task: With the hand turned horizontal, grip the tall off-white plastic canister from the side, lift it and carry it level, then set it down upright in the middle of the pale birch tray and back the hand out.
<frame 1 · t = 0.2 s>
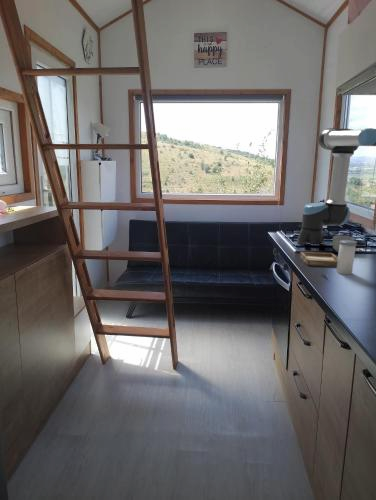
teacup: (341, 251, 212), on the counter
tray: (320, 261, 189), on the counter
canister: (344, 272, 172), on the counter
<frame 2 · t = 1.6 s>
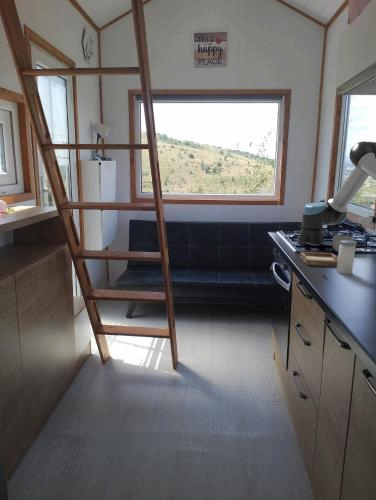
hand: (369, 222, 169), 22 cm above the counter, tool horizontal, fingers open, 13 cm apart
nothing on the counter moved.
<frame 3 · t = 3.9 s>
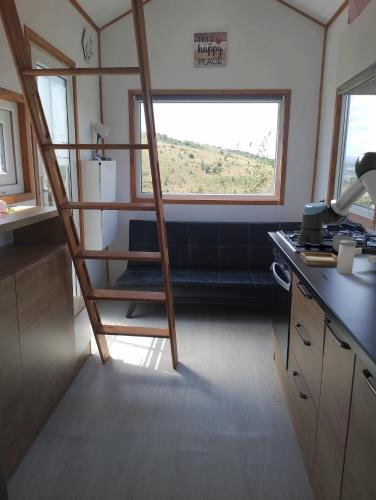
hand: (358, 255, 171), 8 cm above the counter, tool horizontal, fingers open, 13 cm apart
nothing on the counter moved.
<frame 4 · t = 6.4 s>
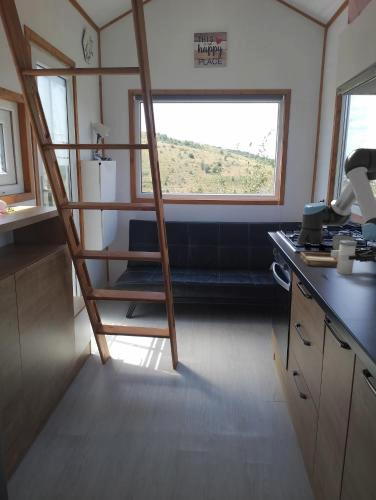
hand: (336, 255, 169), 8 cm above the counter, tool horizontal, fingers closed on canister, 6 cm apart
canister: (344, 272, 172), on the counter, touching gripper
everything else where it was.
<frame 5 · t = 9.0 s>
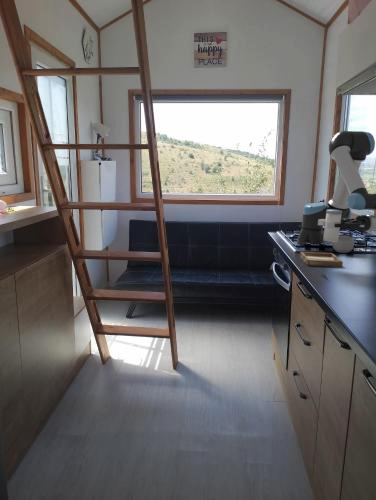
hand: (322, 223, 177), 20 cm above the counter, tool horizontal, fingers closed on canister, 6 cm apart
canister: (330, 240, 180), point 12 cm above the counter, touching gripper
everything else where it was.
when the fingers open (10 cm above the counter, at t = 11.7 s): canister drops 1 cm, resting on tray.
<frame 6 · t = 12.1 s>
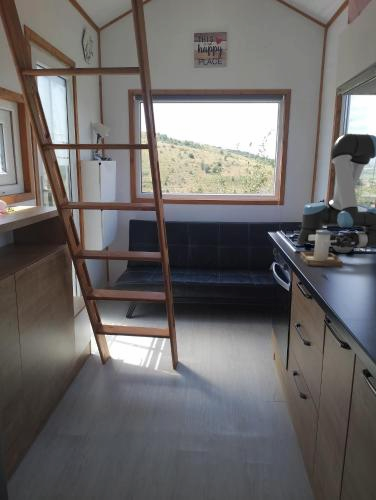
hand: (315, 240, 186), 10 cm above the counter, tool horizontal, fingers open, 12 cm apart
canister: (320, 259, 189), point 1 cm above the counter, touching tray
everything else where it was.
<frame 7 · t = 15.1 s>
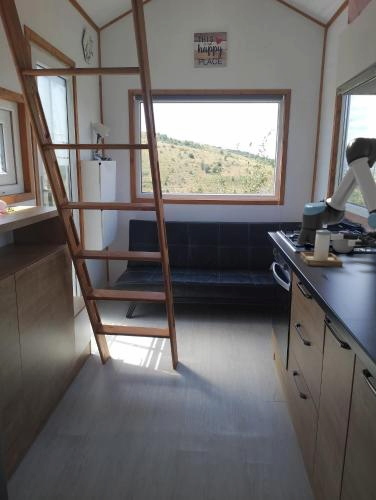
hand: (339, 239, 189), 11 cm above the counter, tool horizontal, fingers open, 13 cm apart
nothing on the counter moved.
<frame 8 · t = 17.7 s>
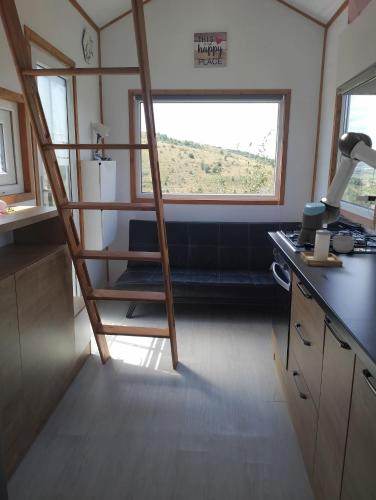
hand: (365, 200, 185), 30 cm above the counter, tool horizontal, fingers open, 13 cm apart
nothing on the counter moved.
at the end: canister inside the target area on the tray (0.0 cm from its centre), point 1.0 cm above the tray's base; canister tilted 0°; the gripper is holding nothing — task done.
